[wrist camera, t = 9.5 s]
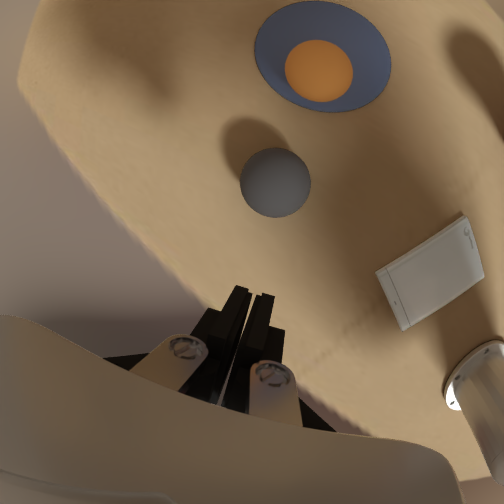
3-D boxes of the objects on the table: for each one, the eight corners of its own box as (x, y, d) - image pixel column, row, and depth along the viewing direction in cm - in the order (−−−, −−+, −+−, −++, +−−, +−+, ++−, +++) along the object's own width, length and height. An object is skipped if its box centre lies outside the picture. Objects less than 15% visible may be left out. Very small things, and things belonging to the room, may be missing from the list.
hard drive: (468, 216, 23) (377, 275, 26) (485, 278, 24) (402, 333, 27) (460, 213, 25) (373, 269, 28) (478, 273, 26) (398, 326, 29)
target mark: (396, 24, 20) (396, 23, 19) (378, 131, 24) (379, 131, 23) (271, -8, 21) (271, -9, 20) (240, 94, 25) (239, 93, 25)
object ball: (340, 119, 24) (350, 70, 23) (354, 93, 18) (363, 38, 17) (279, 102, 24) (292, 55, 23) (276, 73, 18) (292, 21, 17)
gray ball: (302, 237, 23) (317, 191, 27) (298, 180, 19) (315, 138, 22) (237, 226, 25) (260, 184, 29) (220, 172, 21) (249, 134, 24)
